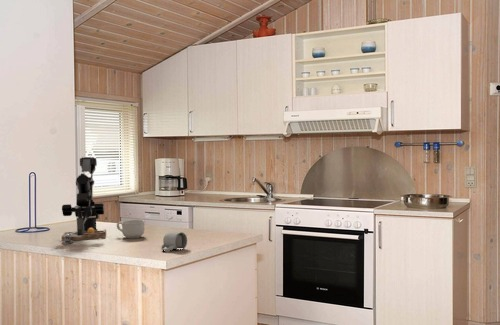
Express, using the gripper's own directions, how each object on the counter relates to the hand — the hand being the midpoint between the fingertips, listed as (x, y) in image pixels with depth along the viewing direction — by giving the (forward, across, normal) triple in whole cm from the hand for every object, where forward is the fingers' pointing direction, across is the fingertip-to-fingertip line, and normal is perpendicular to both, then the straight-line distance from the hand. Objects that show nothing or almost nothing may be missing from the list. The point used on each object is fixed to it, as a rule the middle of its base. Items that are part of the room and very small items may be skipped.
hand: (82, 223), depth 245 cm
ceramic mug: (+26, +40, -13) cm, 49 cm away
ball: (-6, +4, +13) cm, 15 cm away
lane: (-3, -1, +16) cm, 16 cm away
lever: (0, -1, +8) cm, 8 cm away
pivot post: (+5, -7, +7) cm, 11 cm away
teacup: (+1, +22, +12) cm, 25 cm away
